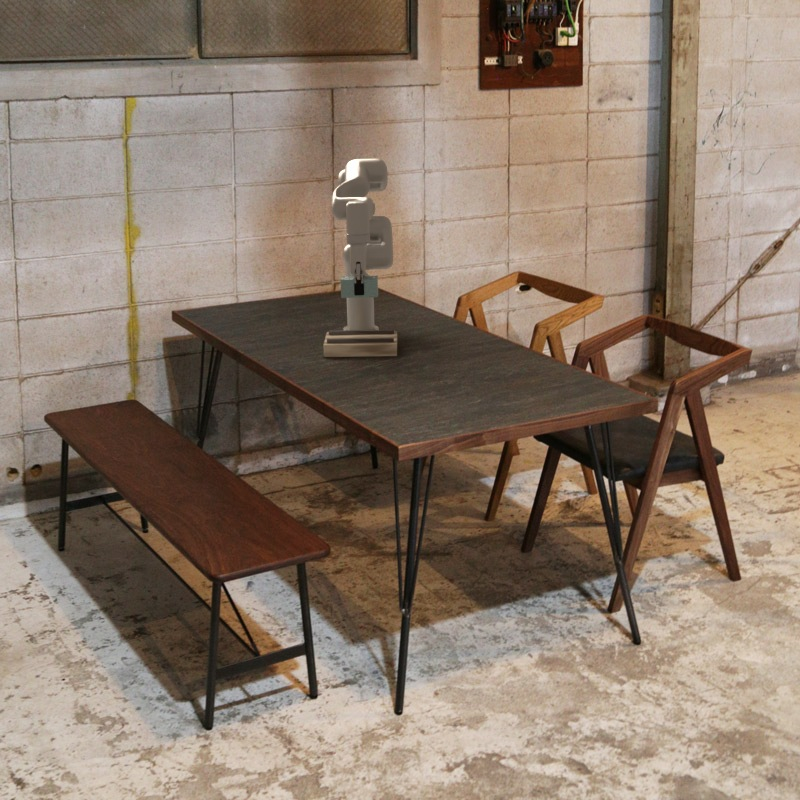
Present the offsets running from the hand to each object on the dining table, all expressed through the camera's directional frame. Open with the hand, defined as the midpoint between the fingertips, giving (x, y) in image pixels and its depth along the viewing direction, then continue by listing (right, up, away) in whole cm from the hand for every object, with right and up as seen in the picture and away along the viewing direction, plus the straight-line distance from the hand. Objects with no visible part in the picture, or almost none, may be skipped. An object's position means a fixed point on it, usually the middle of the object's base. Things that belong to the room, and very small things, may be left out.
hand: (359, 292), depth 426 cm
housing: (0, -1, 0) cm, 1 cm away
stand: (0, -19, +5) cm, 19 cm away
